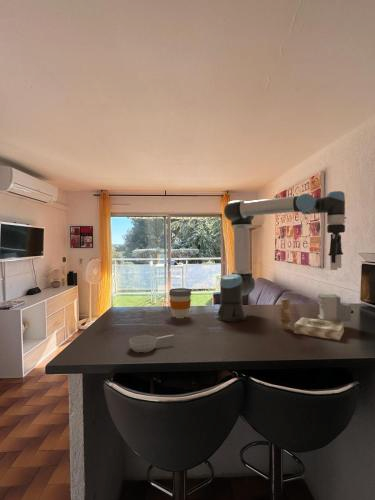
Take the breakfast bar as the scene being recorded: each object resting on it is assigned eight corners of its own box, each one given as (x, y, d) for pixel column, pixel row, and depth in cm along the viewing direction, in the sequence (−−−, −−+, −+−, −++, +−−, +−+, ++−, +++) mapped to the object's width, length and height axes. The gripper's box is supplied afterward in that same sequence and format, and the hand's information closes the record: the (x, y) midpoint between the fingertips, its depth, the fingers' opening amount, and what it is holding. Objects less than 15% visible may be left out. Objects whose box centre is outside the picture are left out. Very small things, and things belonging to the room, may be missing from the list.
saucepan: (126, 346, 112) (126, 336, 112) (169, 339, 119) (169, 330, 119) (132, 355, 102) (132, 345, 102) (178, 348, 109) (178, 338, 109)
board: (294, 332, 126) (294, 323, 126) (302, 325, 137) (302, 317, 137) (339, 340, 115) (339, 330, 115) (343, 331, 127) (343, 322, 126)
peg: (279, 329, 132) (279, 299, 131) (282, 327, 135) (282, 298, 135) (288, 330, 129) (288, 300, 129) (291, 328, 132) (291, 299, 132)
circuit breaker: (354, 329, 129) (354, 297, 129) (321, 328, 132) (321, 296, 132) (349, 325, 136) (349, 294, 136) (317, 324, 139) (317, 294, 139)
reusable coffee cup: (195, 315, 160) (195, 289, 160) (183, 320, 150) (183, 292, 149) (177, 312, 167) (177, 287, 167) (164, 317, 156) (164, 290, 156)
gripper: (341, 222, 121) (341, 271, 121) (348, 225, 141) (348, 267, 141) (322, 223, 125) (322, 270, 126) (331, 226, 146) (331, 266, 146)
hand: (336, 268), depth 134 cm, fingers open, 13 cm apart
